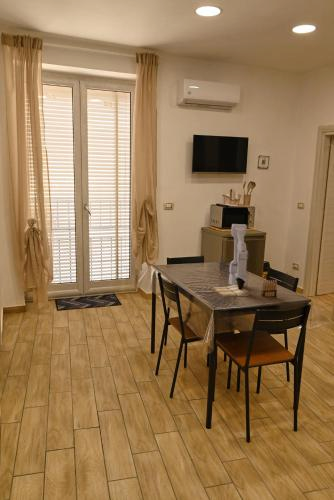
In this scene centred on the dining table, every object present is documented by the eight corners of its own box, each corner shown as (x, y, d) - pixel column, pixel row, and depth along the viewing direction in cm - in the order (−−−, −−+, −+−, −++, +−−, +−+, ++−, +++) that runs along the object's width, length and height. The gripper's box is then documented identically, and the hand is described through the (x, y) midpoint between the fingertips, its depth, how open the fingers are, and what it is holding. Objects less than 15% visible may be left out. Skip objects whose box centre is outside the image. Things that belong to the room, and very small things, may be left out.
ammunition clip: (274, 296, 263) (276, 278, 261) (276, 297, 262) (278, 279, 259) (260, 297, 260) (262, 279, 257) (262, 298, 258) (264, 280, 256)
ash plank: (226, 289, 274) (226, 286, 273) (237, 287, 276) (237, 284, 275) (238, 297, 257) (237, 294, 256) (249, 295, 259) (249, 292, 258)
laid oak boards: (212, 290, 271) (213, 287, 271) (225, 289, 274) (225, 286, 273) (223, 298, 254) (223, 295, 254) (236, 297, 257) (237, 294, 256)
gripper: (231, 266, 269) (230, 286, 272) (241, 271, 256) (239, 292, 258) (241, 266, 271) (239, 286, 274) (251, 271, 258) (249, 292, 260)
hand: (240, 289), depth 266 cm, fingers closed, pressing on ash plank
